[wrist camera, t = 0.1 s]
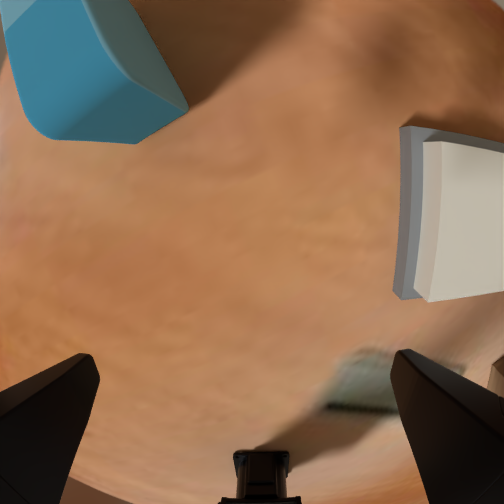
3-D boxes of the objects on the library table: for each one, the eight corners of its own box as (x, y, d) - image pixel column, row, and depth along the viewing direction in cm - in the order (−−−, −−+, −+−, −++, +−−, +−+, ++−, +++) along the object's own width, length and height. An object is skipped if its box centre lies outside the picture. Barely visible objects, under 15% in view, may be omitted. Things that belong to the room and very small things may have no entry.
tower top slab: (503, 277, 20) (519, 287, 18) (413, 288, 21) (427, 302, 18) (515, 158, 17) (534, 161, 15) (423, 142, 17) (441, 141, 15)
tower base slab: (493, 276, 23) (507, 285, 21) (389, 287, 23) (401, 300, 21) (504, 147, 19) (521, 148, 17) (395, 128, 20) (410, 125, 17)
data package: (88, 36, 17) (-4, -14, 5) (133, 5, 16) (58, -69, 5) (141, 146, 20) (32, 142, 8) (194, 114, 19) (121, 66, 8)
